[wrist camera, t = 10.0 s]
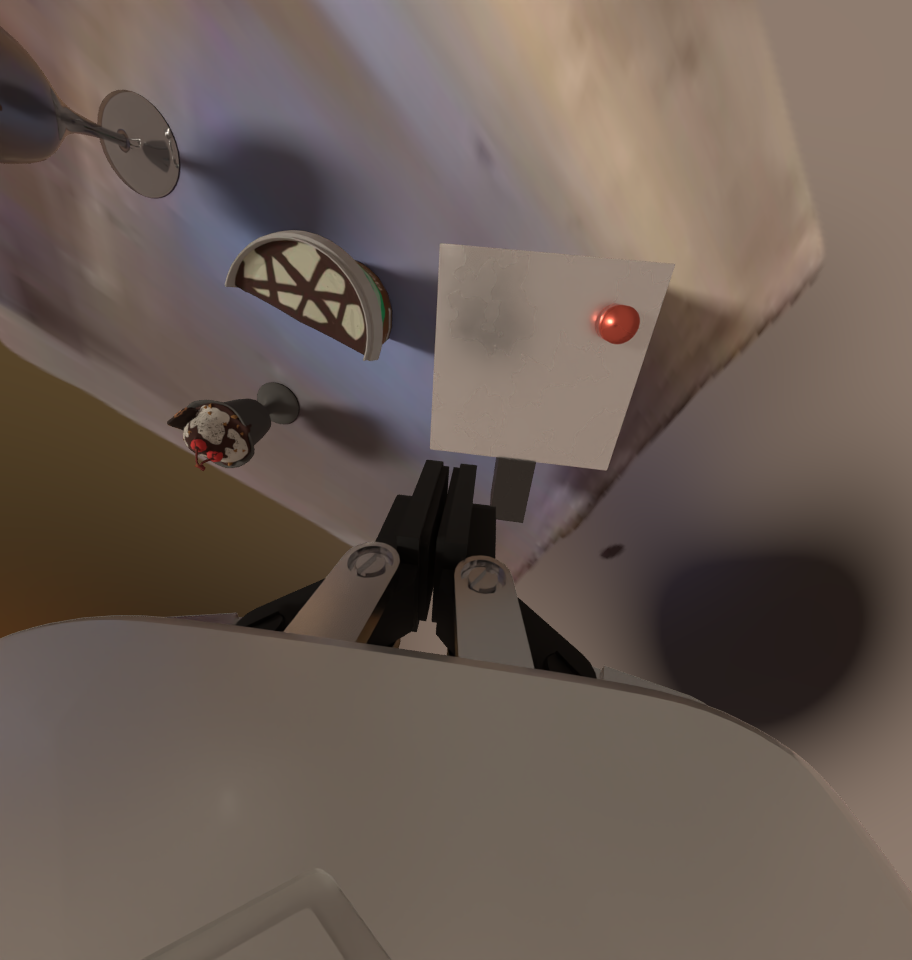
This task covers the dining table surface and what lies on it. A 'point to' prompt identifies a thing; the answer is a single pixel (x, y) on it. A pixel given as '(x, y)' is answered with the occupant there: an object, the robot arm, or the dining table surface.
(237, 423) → the sundae
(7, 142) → the wine glass
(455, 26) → the dining table surface
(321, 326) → the food container
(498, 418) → the lid
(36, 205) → the dining table surface
